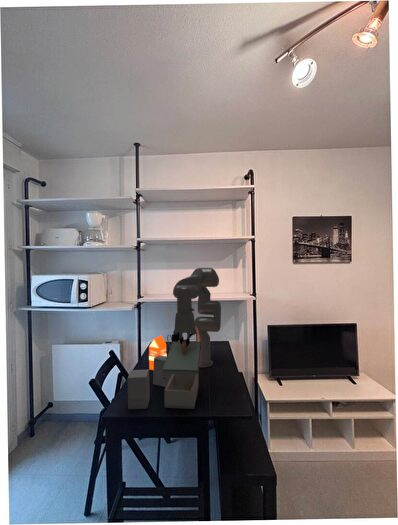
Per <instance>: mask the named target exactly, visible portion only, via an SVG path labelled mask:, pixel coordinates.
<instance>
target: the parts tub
mask: <svg viewBox="0 0 398 525" xmlns="http://www.w3.org/2000/svg"><path fill="white" fill-rule="evenodd" d="M199 387H200V386H199V374H198V375H193V374H170V380H169V382H168V384H167V386H166V387H164V408H167V409H168V408H169V409H170V408H171V409H188V410H189V409H190V410H191V409H192V410H195V407H196V403H197V402H196V401H197V396H198V393H199Z"/></svg>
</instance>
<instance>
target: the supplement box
mask: <svg viewBox="0 0 398 525" xmlns="http://www.w3.org/2000/svg"><path fill="white" fill-rule="evenodd" d="M150 389H151V388H150V369H131V371H130V373H129V375H128V377H127V409H128V410H143V409H144V410H146V409H147V408H148V406H149V402H150V399H151V397H150V396H151V395H150V391H151V390H150Z"/></svg>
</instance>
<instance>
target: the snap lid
mask: <svg viewBox="0 0 398 525" xmlns="http://www.w3.org/2000/svg"><path fill="white" fill-rule="evenodd" d="M170 346H171V347H170ZM170 346H169V350H168V354H166V355H167V358H166V361H165V364H164V366H163V369H162V370H163V373H165V374H170V375H172V374H193V375H198V376H199V368H200V367H199V363H200V357H201V350H202V342H196V341H190V344H189V345H188V347H186V339H184V340H183V341H182V345H181V344H180V342H173V341H171V344H170Z"/></svg>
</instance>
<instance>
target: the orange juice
mask: <svg viewBox="0 0 398 525" xmlns="http://www.w3.org/2000/svg"><path fill="white" fill-rule="evenodd" d="M158 355H161V356H166V357H167V355H168V354H167V343H166V341H165V339H164V337H163V336H162V335H159V336H157V337H155V338H153V340H152V342H151V343H150V344H149V346H148V362H149V363H148V365H149V371H150V370H151V371H153V370H154V358H155V357H157V356H158Z"/></svg>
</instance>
